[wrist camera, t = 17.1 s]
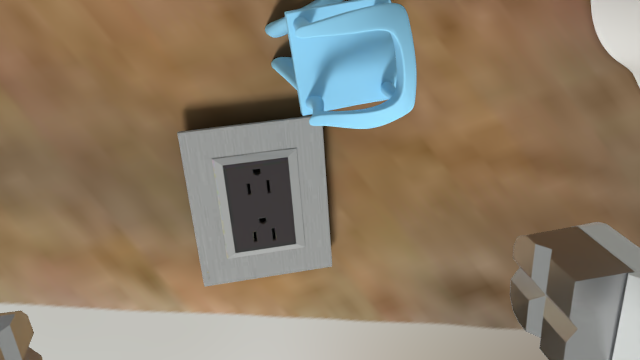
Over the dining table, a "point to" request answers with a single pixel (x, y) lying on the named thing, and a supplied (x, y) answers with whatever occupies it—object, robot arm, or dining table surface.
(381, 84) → the chair
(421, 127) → the dining table surface
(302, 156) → the electrical outlet
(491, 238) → the dining table surface
